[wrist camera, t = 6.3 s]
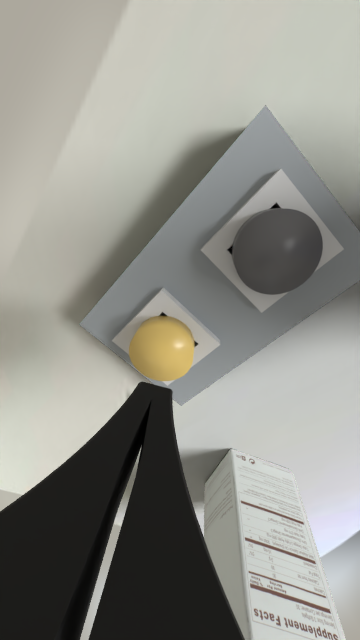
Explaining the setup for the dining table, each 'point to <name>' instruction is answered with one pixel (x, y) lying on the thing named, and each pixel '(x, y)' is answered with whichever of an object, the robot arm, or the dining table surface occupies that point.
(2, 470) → the dining table surface
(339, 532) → the dining table surface
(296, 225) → the knob
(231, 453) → the supplement box
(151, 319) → the knob
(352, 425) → the dining table surface
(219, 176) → the mount plate
